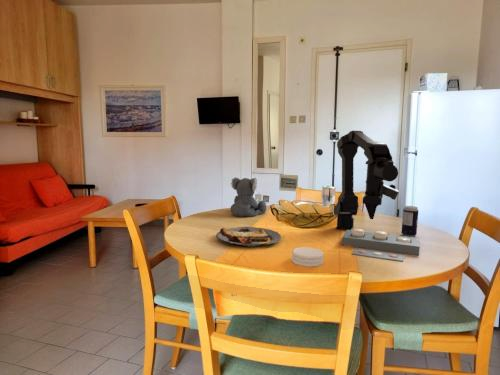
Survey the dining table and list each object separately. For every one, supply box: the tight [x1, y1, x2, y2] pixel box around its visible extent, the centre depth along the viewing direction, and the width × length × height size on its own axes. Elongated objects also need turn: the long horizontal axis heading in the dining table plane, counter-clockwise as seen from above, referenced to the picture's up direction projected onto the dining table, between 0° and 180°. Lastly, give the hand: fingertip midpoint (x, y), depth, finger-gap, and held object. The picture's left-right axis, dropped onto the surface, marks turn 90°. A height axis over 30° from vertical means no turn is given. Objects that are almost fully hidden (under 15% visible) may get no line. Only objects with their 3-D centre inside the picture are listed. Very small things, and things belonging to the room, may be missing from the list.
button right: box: [397, 237, 410, 243], centre depth 126 cm, size 4×4×3 cm
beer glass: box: [320, 185, 336, 206], centre depth 178 cm, size 7×7×15 cm
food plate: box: [215, 226, 282, 248], centre depth 135 cm, size 25×23×4 cm
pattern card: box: [351, 247, 404, 262], centre depth 119 cm, size 16×7×1 cm, turn 66°
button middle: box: [373, 230, 388, 240], centre depth 129 cm, size 4×4×3 cm
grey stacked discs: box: [291, 246, 324, 268], centre depth 111 cm, size 10×10×4 cm
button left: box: [351, 228, 365, 237], centre depth 132 cm, size 4×4×3 cm
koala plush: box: [229, 177, 267, 218], centre depth 179 cm, size 17×18×20 cm
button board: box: [341, 229, 421, 256], centre depth 129 cm, size 26×12×3 cm, turn 66°
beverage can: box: [400, 205, 419, 237], centre depth 143 cm, size 6×6×12 cm
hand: (371, 219), depth 130 cm, fingers closed
